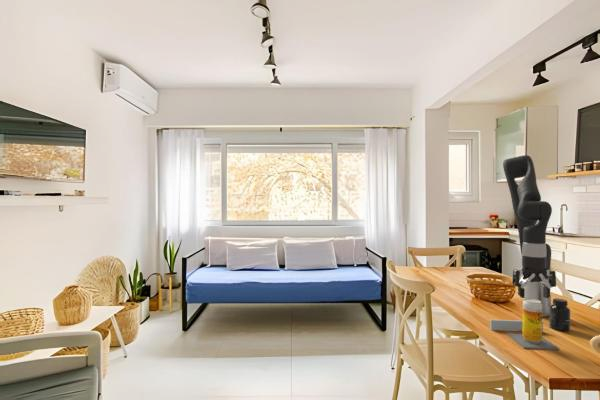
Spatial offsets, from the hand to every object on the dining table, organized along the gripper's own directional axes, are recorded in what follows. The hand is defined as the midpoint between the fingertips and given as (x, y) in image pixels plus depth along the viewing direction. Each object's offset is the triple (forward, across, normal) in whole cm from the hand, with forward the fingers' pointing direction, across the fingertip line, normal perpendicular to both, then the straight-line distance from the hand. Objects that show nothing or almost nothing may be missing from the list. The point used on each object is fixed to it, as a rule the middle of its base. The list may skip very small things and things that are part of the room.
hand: (533, 297), depth 128 cm
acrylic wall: (+17, 0, -11) cm, 20 cm away
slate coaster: (+17, +1, 0) cm, 17 cm away
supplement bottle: (+18, -18, -15) cm, 30 cm away
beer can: (+16, 0, 0) cm, 17 cm away
